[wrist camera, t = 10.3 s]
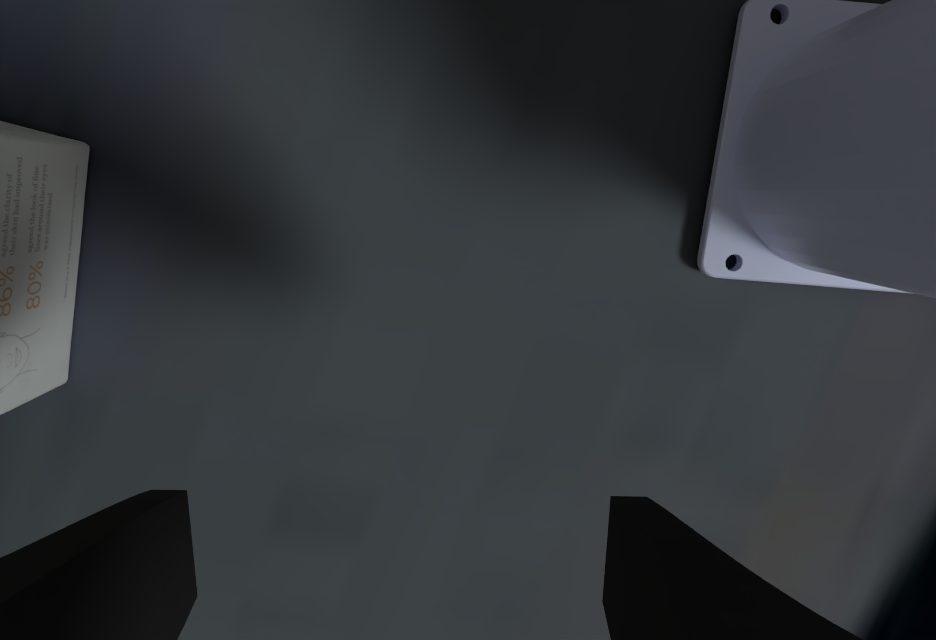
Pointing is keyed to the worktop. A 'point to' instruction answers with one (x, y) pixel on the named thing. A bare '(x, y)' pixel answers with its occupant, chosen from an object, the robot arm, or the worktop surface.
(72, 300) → the small box
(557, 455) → the worktop surface
